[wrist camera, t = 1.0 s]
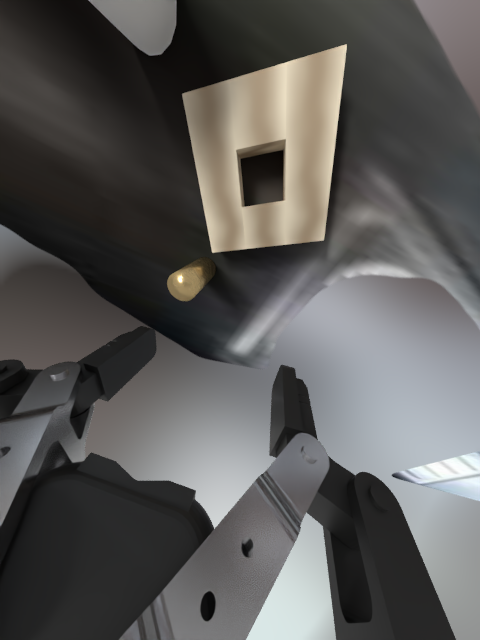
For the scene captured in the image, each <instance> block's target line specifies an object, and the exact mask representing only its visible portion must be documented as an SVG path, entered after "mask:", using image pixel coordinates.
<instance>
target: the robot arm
mask: <svg viewBox="0 0 480 640" xmlns="http://www.w3.org/2000/svg"><path fill="white" fill-rule="evenodd" d="M155 353H156V336H155V330H154V329H151V328H147V327H143V326H140V327H138V328H137V329H135V330H134V331H132V332H128V333H125V334H122V335H120V336H118V337H117V338H115V339H114V340H113V341H110V342H109V343H107V344H106V345H104V346H102V347H101V348H99V349H97V350H96V351H94V352H93V353H91V354H89V355H88V356H87V357H85V358H83V359H81V360H80V361H78V362H63V363H58V364H55V365H52V366H50V367H48V368H46V369H44V370H29V369H28V370H27V369H26V368H25V366H24V365H23V363H22V362H21V361H19V360H3V361H0V640H246V638H247V636H248V634H249V632H250V630H251V628H252V626H253V624H254V622H255V620H256V618H257V616H258V615H259V613H260V611H261V609H262V607H263V604H264V603H265V600H266V599H267V597H268V595H269V593H270V591H271V589H272V587H273V585H274V583H275V581H276V579H277V577H278V575H279V573H280V571H281V569H282V567H283V565H284V563H285V561H286V559H287V557H288V555H289V553H290V551H291V549H292V547H293V545H294V543H295V541H296V539H297V537H298V534H299V532H300V528H301V527H300V525H301V522H302V520H303V518H304V516H305V514H306V512H307V513H308V514H309V515H310V516H312V517H313V518H314V519H315V520H317V521H318V522H319V523H320V524H321V525H322V526H323V530H324V539H325V547H326V556H327V564H328V572H329V581H330V589H331V598H332V607H333V614H334V624H335V632H336V640H456V639H455V636H454V634H453V631H452V629H451V627H450V624H449V622H448V619H447V617H446V615H445V612H444V610H443V607H442V605H441V602H440V600H439V598H438V595H437V593H436V591H435V588H434V586H433V583H432V581H431V579H430V576H429V574H428V571H427V569H426V567H425V564H424V562H423V559H422V557H421V555H420V552H419V550H418V548H417V545H416V543H415V540H414V538H413V535H412V533H411V531H410V528H409V526H408V523H407V521H406V519H405V516H404V514H403V511H402V509H401V507H400V505H399V503H398V501H397V499H396V498H395V496H394V495H393V493H392V492H391V491H390V490H389V488H388V487H387V486H386V485H385V484H384V483H383V482H382V481H381V480H379V479H378V478H377V477H375V476H374V475H372V474H370V473H367V472H360V473H358V474H357V475H356V476H355V475H354V474H352V473H351V472H349V471H348V470H346V469H345V468H343V467H342V466H340V465H339V464H337V463H336V462H335V461H333V460H332V459H331V458H330V457H329V456H328V454H327V452H326V450H325V448H324V447H323V445H322V444H321V443H320V442H319V441H318V439H317V435H316V430H315V425H314V420H313V415H312V410H311V406H310V399H309V394H308V390H307V387H306V385H305V384H304V382H303V380H301V379H297V378H296V374H295V369H294V368H292V367H288V366H285V365H281V366H280V368H279V371H278V373H277V376H276V379H275V381H274V384H273V388H272V400H271V402H272V403H271V427H270V456H273V457H276V459H275V461H274V462H273V463H272V464H271V466H270V467H269V468H268V469H267V470H266V471H265V472H264V473H263V474H261V475H260V476H259V477H258V478H257V479H256V481H255V482H254V483H253V484H252V485H251V486H250V488H249V489H248V490H247V491H246V492H245V493H244V495H243V496H242V497H241V498H240V499H239V501H238V502H237V503H236V504H235V505H234V507H233V508H232V509H231V510H230V511H229V512H228V514H227V515H226V516H225V517H224V518H223V520H222V521H221V522H220V523H219V524H218V526H217V527H216V528H215V529H214V527H213V525H212V522H211V520H210V518H209V516H208V515H207V513H206V511H205V510H204V508H203V507H202V506H201V505H200V504H199V503H198V502H197V501H196V500H195V493H196V491H195V490H193V489H190V488H187V487H185V486H182V485H179V484H176V483H174V482H171V481H137V480H135V479H133V478H132V477H131V476H130V475H129V474H128V473H127V472H126V471H125V470H124V469H123V468H122V467H121V466H120V465H119V464H118V463H117V462H116V461H113V460H110V459H108V458H105V457H102V456H99V455H97V454H94V453H90V454H89V455H88V457H87V458H86V459H85V442H86V438H87V434H88V430H89V426H90V422H91V418H92V414H93V410H94V406H95V405H94V402H95V401H96V400H97V399H102V400H105V401H109V400H110V399H111V398H112V397H113V396H114V395H115V394H116V393H117V392H118V391H119V390H120V389H121V388H122V387H123V386H124V385H125V384H126V383H127V382H128V381H129V380H130V379H132V377H133V376H134V375H136V374H137V373H138V372H139V371H140V370H141V369H142V368H143V367H144V366H145V365H146V364H147V363H148V362H149V361H150V360H151V359H152V358H153V357H154V355H155Z"/></svg>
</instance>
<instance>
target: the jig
mask: <svg viewBox="0 0 480 640" xmlns="http://www.w3.org/2000/svg"><path fill="white" fill-rule="evenodd" d="M346 49H347V44H346V45H342V46H339V47H336V48H333V49H329V50H326V51H323V52H319V53H316V54H313V55H309V56H306V57H303V58H299V59H296V60H293V61H289V62H286V63H283V64H279V65H276V66H273V67H269V68H266V69H263V70H259V71H256V72H253V73H249V74H246V75H243V76H239V77H236V78H233V79H229V80H226V81H223V82H220V83H216V84H213V85H210V86H206V87H203V88H200V89H196V90H193V91H190V92H186V93H183V94H182V97H183V102H184V107H185V112H186V118H187V123H188V128H189V133H190V139H191V144H192V149H193V154H194V159H195V165H196V170H197V175H198V180H199V186H200V191H201V196H202V201H203V207H204V212H205V217H206V222H207V228H208V233H209V238H210V243H211V249H212V253H214V252H224V251H233V250H242V249H251V248H260V247H269V246H278V245H287V244H297V243H306V242H315V241H324V236H325V228H326V219H327V211H328V202H329V194H330V185H331V176H332V168H333V159H334V151H335V142H336V134H337V125H338V117H339V108H340V100H341V91H342V83H343V74H344V66H345V57H346ZM280 150H283V201H278V202H272V203H266V204H259V205H253V206H246V207H245V205H244V194H243V183H242V172H241V161H240V159H242V158H247V157H251V156H256V155H261V154H266V153H271V152H275V151H280Z"/></svg>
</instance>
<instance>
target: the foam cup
mask: <svg viewBox="0 0 480 640" xmlns="http://www.w3.org/2000/svg"><path fill="white" fill-rule="evenodd" d="M88 1H89V2H91V3H92V4H93V5H94V6H95V7H96V8H97V9H98V10H99V11H100V12H101V13H102V14H103V15H104V16H105V17H106V18H107V19H108V20H109V21H110V22H111V23H112V24H113V25H114V26H115V27H116V28H117V29H118V30H119V31H120V32H121V33H122V34H123V35H124V36H125V37H127V38H128V39H129V40H130V41H131V42H132V43H133V44H134V45H135V46H136V47H137V48H138V49H140V50H141V51H143V52H144V53H146V54H148V55H149V56H153V55H160V54H162V53H163V52H164V51H165V50H166V48H167V47H168V46H169V45H170V44H171V41H172V38H173V34H174V31H175V27H176V0H88Z"/></svg>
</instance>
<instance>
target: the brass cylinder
mask: <svg viewBox="0 0 480 640" xmlns="http://www.w3.org/2000/svg"><path fill="white" fill-rule="evenodd" d="M215 273H216V266H215V264H214V262H213V261H212V260H211V259H209V258H207V257H201V258H199V259H197V260H195V261H194V262H192V263H190V264H188V265H187V266H185V267H183V268H182V269H180V270H178V271H176V272H175V273H173V274H171V275H170V276H169V278H168V281H167V285H168V289H169V291H170V293H171V294H172V295H173V296H174V297H175V298H177V299H179V300H181V301H189V300H191V299H193V298H194V297H195V296H196V294H197V293H198V292H199V291H200V290H201V289H202V288H203V287H204V286H205V285H206V284H207V283H208V282H209V281H210V280H211V278H212V277H213V276H214V275H215Z"/></svg>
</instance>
